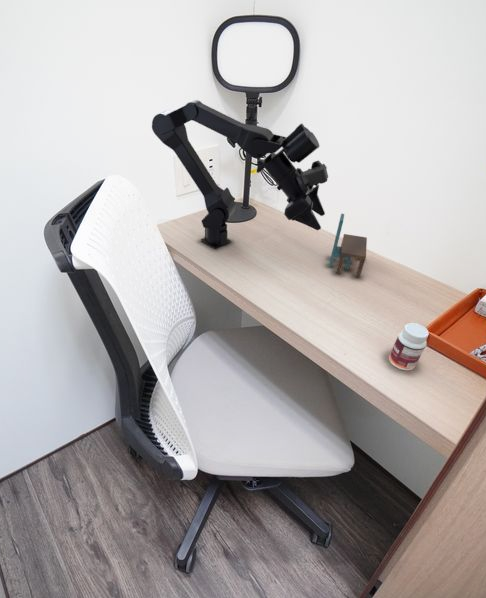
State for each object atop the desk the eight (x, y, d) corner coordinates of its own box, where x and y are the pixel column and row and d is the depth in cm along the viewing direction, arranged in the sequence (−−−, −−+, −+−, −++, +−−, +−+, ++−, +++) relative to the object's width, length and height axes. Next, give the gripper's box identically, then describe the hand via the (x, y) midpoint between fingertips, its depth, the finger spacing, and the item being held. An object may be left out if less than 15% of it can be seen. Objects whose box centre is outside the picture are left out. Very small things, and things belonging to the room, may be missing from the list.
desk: (335, 273, 95) (341, 252, 91) (338, 254, 103) (343, 233, 99) (359, 278, 93) (366, 256, 89) (360, 258, 102) (366, 237, 98)
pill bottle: (388, 350, 72) (402, 318, 67) (414, 357, 71) (430, 324, 66) (388, 367, 69) (402, 334, 64) (415, 374, 68) (432, 341, 62)
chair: (328, 266, 98) (339, 220, 90) (330, 258, 101) (341, 213, 93) (347, 270, 96) (361, 223, 88) (348, 261, 100) (361, 215, 92)
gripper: (306, 164, 78) (347, 218, 82) (316, 143, 92) (351, 191, 96) (267, 194, 85) (306, 243, 89) (282, 171, 99) (316, 214, 103)
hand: (321, 221), depth 94 cm, fingers open, 9 cm apart
